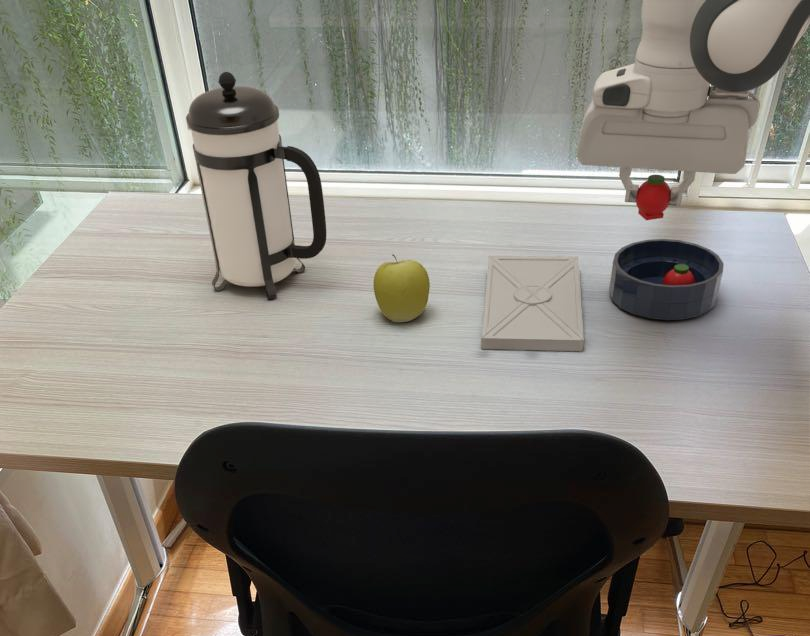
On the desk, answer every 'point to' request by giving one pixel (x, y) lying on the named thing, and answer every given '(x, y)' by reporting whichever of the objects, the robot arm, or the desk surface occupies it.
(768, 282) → the desk surface
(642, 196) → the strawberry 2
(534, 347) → the envelope
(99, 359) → the desk surface
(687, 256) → the bowl
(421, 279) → the apple
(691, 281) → the toy tomato
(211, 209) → the coffee press
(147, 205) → the desk surface
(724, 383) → the desk surface
